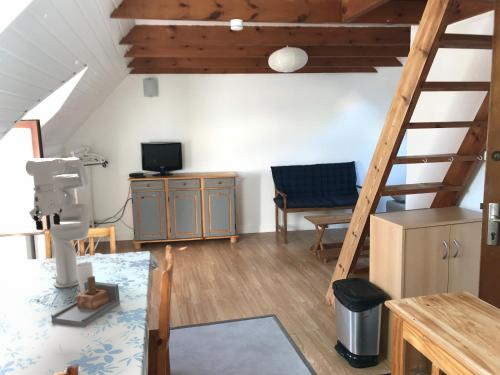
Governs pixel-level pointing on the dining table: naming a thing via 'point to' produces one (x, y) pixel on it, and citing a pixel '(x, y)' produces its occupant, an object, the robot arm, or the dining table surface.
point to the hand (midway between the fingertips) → (48, 227)
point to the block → (92, 299)
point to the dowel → (91, 285)
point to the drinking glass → (84, 274)
